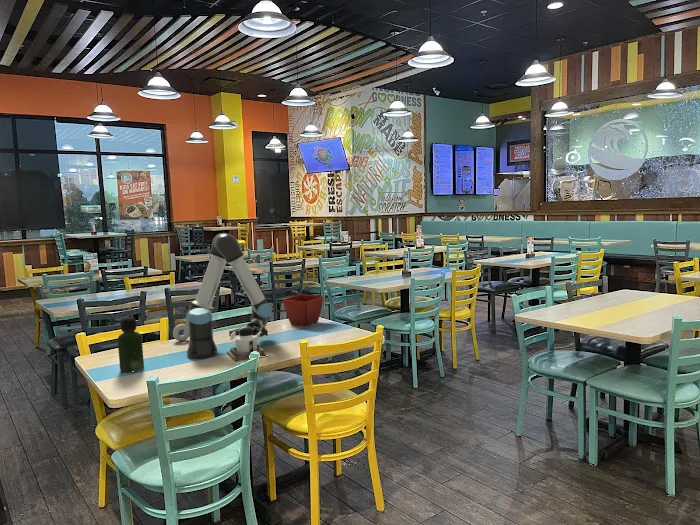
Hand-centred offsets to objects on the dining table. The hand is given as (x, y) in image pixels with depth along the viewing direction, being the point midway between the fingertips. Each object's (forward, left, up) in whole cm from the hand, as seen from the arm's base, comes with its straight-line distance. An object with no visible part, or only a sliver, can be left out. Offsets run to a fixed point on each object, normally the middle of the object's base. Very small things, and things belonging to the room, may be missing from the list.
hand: (244, 337), depth 256 cm
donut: (-23, +51, -10) cm, 57 cm away
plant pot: (+52, +51, -10) cm, 73 cm away
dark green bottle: (-52, +9, -10) cm, 54 cm away
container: (+2, +3, -9) cm, 10 cm away
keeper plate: (+2, +3, -10) cm, 11 cm away
